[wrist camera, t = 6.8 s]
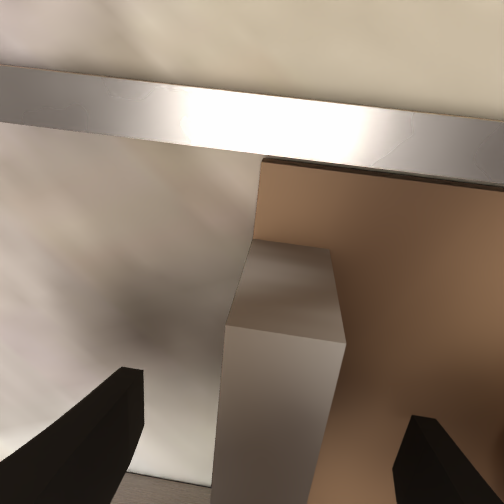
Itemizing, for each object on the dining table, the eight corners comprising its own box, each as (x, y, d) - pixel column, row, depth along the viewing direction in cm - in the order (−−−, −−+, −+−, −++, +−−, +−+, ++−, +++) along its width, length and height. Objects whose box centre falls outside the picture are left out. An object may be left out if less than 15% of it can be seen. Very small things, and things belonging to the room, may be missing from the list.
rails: (566, 574, 15) (593, 623, 13) (54, 478, 16) (31, 513, 15) (882, 163, 8) (996, 177, 7) (-14, 62, 10) (-65, 58, 8)
